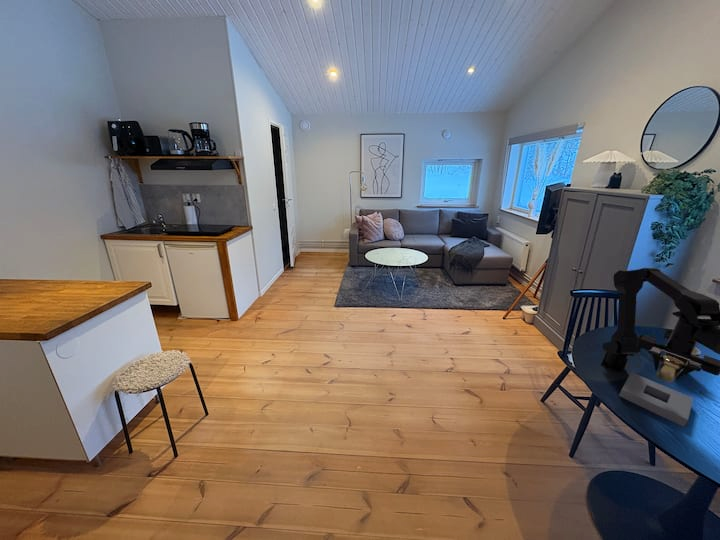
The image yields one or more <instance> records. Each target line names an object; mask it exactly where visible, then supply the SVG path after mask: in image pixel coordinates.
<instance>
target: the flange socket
mask: <svg viewBox="0 0 720 540" xmlns="http://www.w3.org/2000/svg"><path fill="white" fill-rule="evenodd" d="M618 396H619V397H620V398H623V399H625V400H627V401H629V402H630V403H633V404H635V405H637V406H639V407H641V408H643V409H645V410H646V411H647V410H648V411H650V412H652V413H654V414H656V415H658V416H660V417H662V418H664V419H666V420H669V421H671V422H673V423H675V424H677V425H679V426H681V427H683V428H684V427H685V426H686V424H687V423H688V420H689V417H690V414H691V410H692V405H693V401H694V397H691V396H689V395H686V394H684V393H682V392H680V391H677V390H675V389H673V388H669V387H667V386H666V385H663V384H660V383H658V382H655V381H653V380H652V379H649V378H646V377H644V376H641V375H638V374H636V373H634V372H630V373H629V375H628V378H627V379H626V381H625V383H624V385H623V386H622V387H621V390H620V392H619V395H618Z"/></svg>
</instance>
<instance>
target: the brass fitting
mask: <svg viewBox="0 0 720 540" xmlns="http://www.w3.org/2000/svg"><path fill="white" fill-rule="evenodd" d="M684 366H685V364H684V363H683V362H682V361H680V360H679V359H676V358H674V357H670V356H665V355H662V356H661V359H660V365H659V367H658V369H657V371H656V372H657V373H656V377H657V378H658V379H660V380H661V381H664V382H667V383H673V382H674V380H675V379H676V377H677V375H678V373H677V372H678V370H679V369H683V368H684Z"/></svg>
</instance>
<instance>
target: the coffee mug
mask: <svg viewBox="0 0 720 540" xmlns="http://www.w3.org/2000/svg"><path fill="white" fill-rule="evenodd" d="M701 354H702V353H701V350H700V349H699V348H697V347H695V348H694V350H693V352H692V354H691V355H695V356H698V357H700V355H701ZM664 356H670V357H674V358H676V359H679V360H680V361H682V362H683V363H684V364H686V363H687V361H688V360H686V359H684V358H681V357H678V356H675V355H672V354H670V353H667V352H665V355H664ZM680 370H681V369H679V370H678V372H677V374H678V373H679V372H680Z"/></svg>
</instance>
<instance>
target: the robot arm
mask: <svg viewBox="0 0 720 540" xmlns="http://www.w3.org/2000/svg"><path fill="white" fill-rule="evenodd" d="M644 283H649V284H650V285H652V286H654V288H656V289H657V290H658V291H660V292H662V294H664V295H666V296H668V297H669V298H670V299H671V300H672V301H673V303H674V306H675V308H676V309H678V311H674V312H672V313H671V314H672V315H673V316H675V317H676V318H678V319H677V321H676V323H675V326H674V328H673V330H671V329H668V328H666V330H665V332H664V335H663V336H662V338H664V339H667V342H666V344H665V345H664V344H661V343H658V342H656V341H657V338H656V337H655V338H654V337H652V336H650V335H646V334H640V335H638V334H637V333H636V315H637V296H638V293H639V292H640V291H641V290H642V289H643V287H644ZM613 286H614V288H615V290H617V293H618V307H617V311H618V313H617V329H616V330H615V332H613V334H612V335H611V337H610V338H611V339H610V341H608V342H607V341H606V342H604V343H602V349H603V351H605V353H604V355H603V359H601V362H600V364H601V365H602V366H604V367H607V368H610V369H612V370H614V371H617V372H619V373H621V372H622V370H625V369H626V367H627V364H628V362H629V360H630V359H629V358H628V357H629V356H632V357H634V355H637V354H638V353H641V349H643V350H645V351H648V353H649V354H650V355H651V356H652V359H653V363H654V371H655V372H658V370H659V368H660V365H661V361H660V359H661V357H662V356H663V352H664V353H666V352H667V353H670V354H672V355H675V356H678V357H681V358H684V359H686V360H688V361H687V363H686V364H685V366H684V368H683V369H681V370H680V372H679V373H677V374H676V376H675V379H676V380H679V379H680V378H683V377H684V376H686V375H687V374H689V373H692V372H701V371H703V372H706V373H708V374H711V375H714V376H719V375H720V359H717V358H713V357H711V356H708V355H706V354H705V355H703V357H701V356H695V355H691V354H692V352H693V350H694V348H696V346H697V344H699V345H702V346H703V347H705V348H707V349H709V350H711V351H712V352H714V353H716V354H718V355H719V356H720V303H719V301H717V300H716V299H714V298H712V297H710V296H708V295H705V294H703V293H699V292H696V291H692V290H690V289H688V288H687V287H685V286H683V284H680V283H679V282H677V281H676V280H675V279H673V278H671V277H670V276H668V275H667V274H665V273H664V272H662V271H661V270H660V268H656V267H641V268H638V269H631V270H627V269H626V270H622V269H621V270H618V271H617V272H615V273H614V274H613ZM699 317H700V318H699Z"/></svg>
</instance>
